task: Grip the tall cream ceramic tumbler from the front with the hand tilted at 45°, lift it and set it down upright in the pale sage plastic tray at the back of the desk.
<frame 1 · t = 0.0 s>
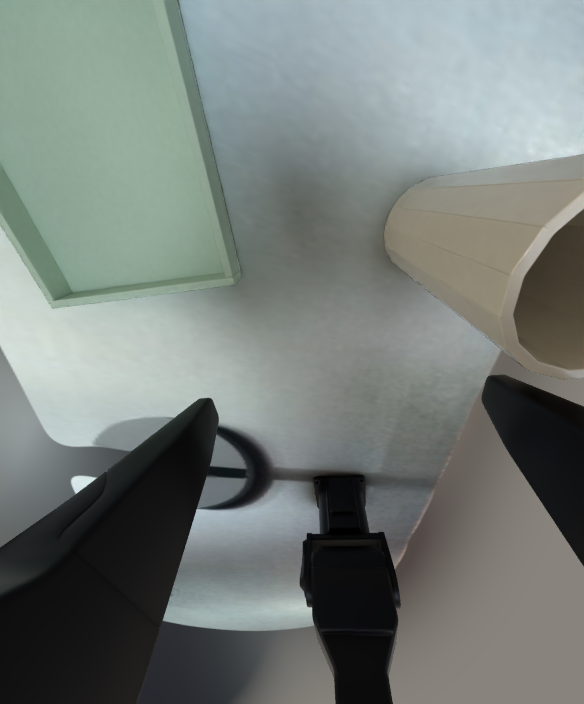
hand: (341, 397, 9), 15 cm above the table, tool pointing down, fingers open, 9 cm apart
tray: (106, 166, 18), on the table
tumbler: (429, 228, 19), on the table
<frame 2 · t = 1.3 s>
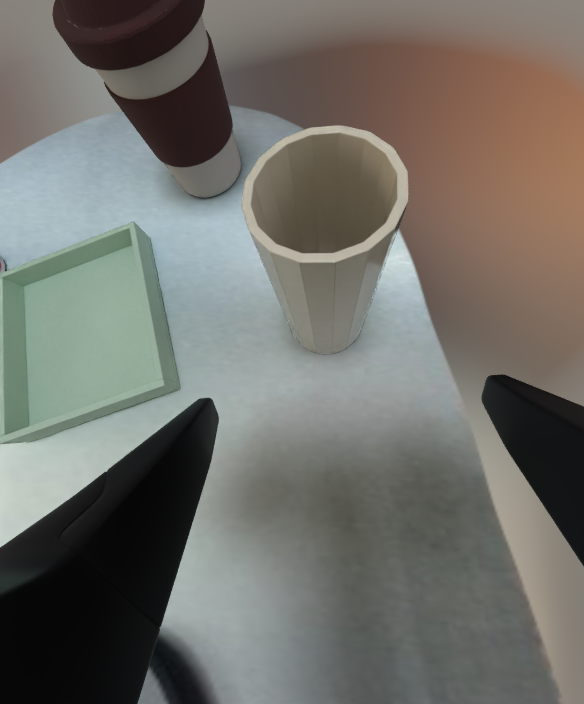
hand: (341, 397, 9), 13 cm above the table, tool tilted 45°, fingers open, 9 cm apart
coffee cup: (211, 174, 30), on the table
tray: (94, 332, 27), on the table
tumbler: (326, 319, 24), on the table
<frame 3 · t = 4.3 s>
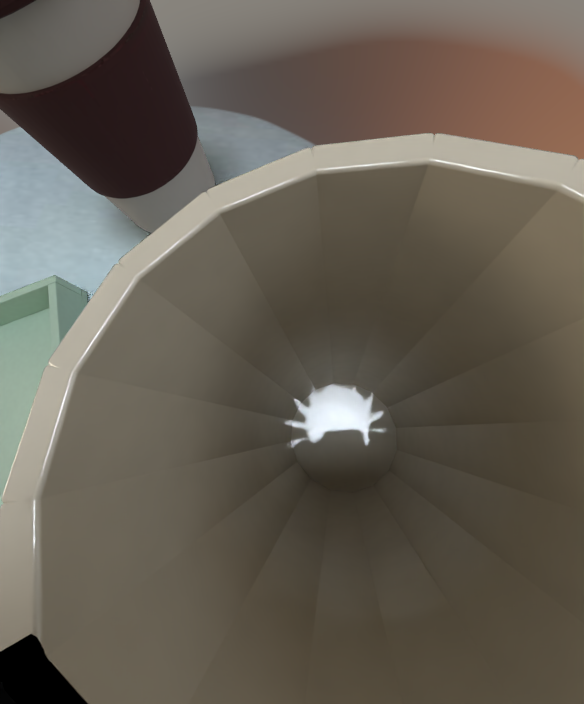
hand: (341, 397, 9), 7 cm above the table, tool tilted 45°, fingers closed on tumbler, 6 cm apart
coffee cup: (176, 201, 22), on the table
tumbler: (342, 434, 15), on the table, touching gripper
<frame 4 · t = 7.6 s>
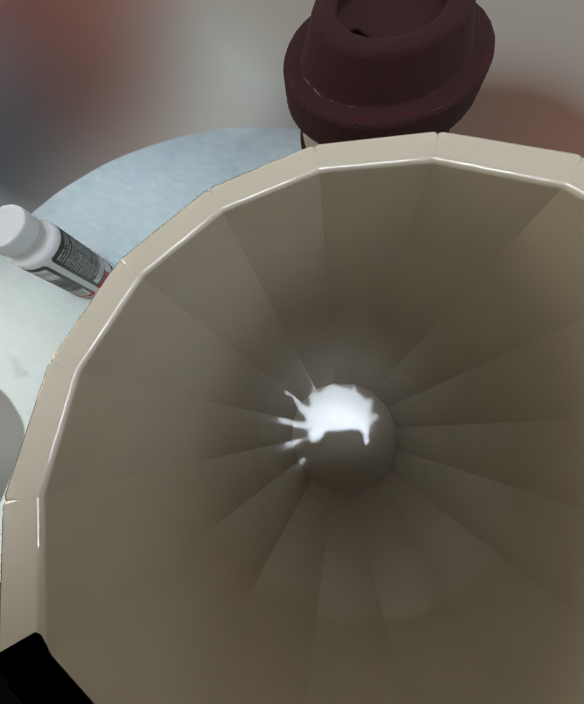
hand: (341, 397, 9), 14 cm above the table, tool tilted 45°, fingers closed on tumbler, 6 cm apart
coffee cup: (356, 234, 26), on the table
pill bottle: (94, 279, 29), on the table
tumbler: (342, 434, 15), point 7 cm above the table, touching gripper
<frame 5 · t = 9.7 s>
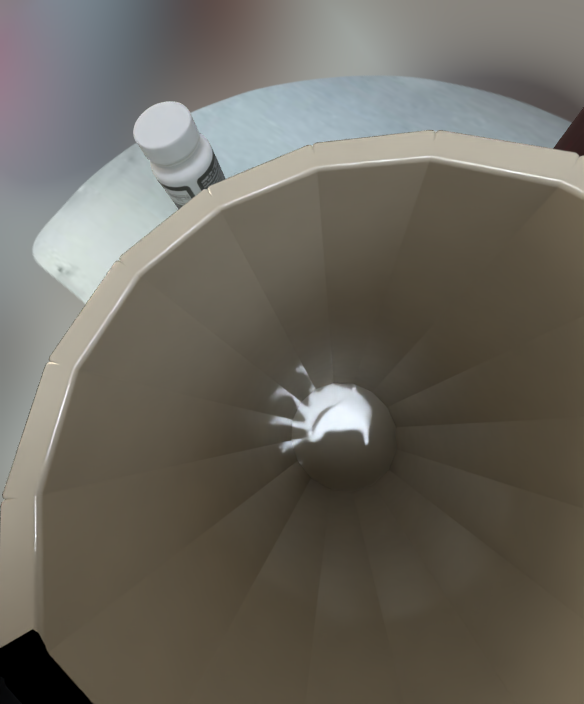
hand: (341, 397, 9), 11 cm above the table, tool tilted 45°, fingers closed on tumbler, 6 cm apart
coffee cup: (552, 237, 21), on the table
pill bottle: (215, 218, 25), on the table
tumbler: (342, 433, 15), point 4 cm above the table, touching gripper
when the fingers open (8 cm above the table, at t = 11.3 s): tumbler stays where it is, resting on tray.
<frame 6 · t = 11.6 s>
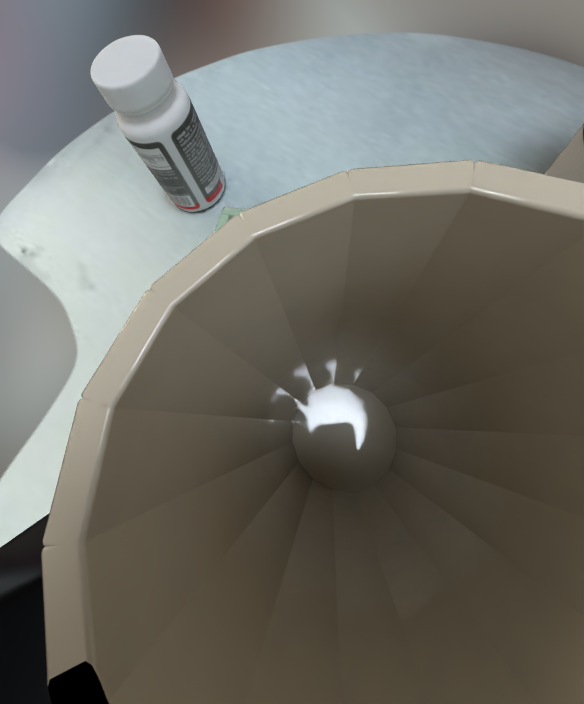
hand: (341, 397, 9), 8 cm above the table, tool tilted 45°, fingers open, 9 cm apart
pill bottle: (200, 191, 22), on the table
tumbler: (342, 434, 15), point 1 cm above the table, touching gripper, tray
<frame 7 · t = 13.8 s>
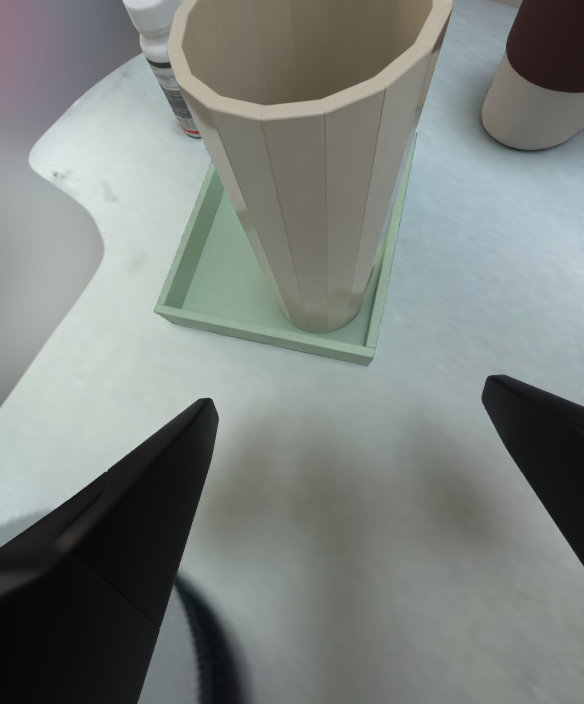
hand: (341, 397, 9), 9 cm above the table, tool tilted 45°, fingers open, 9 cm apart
coffee cup: (526, 120, 21), on the table
tray: (292, 242, 21), on the table
pill bottle: (205, 122, 26), on the table
tumbler: (320, 291, 19), resting on tray
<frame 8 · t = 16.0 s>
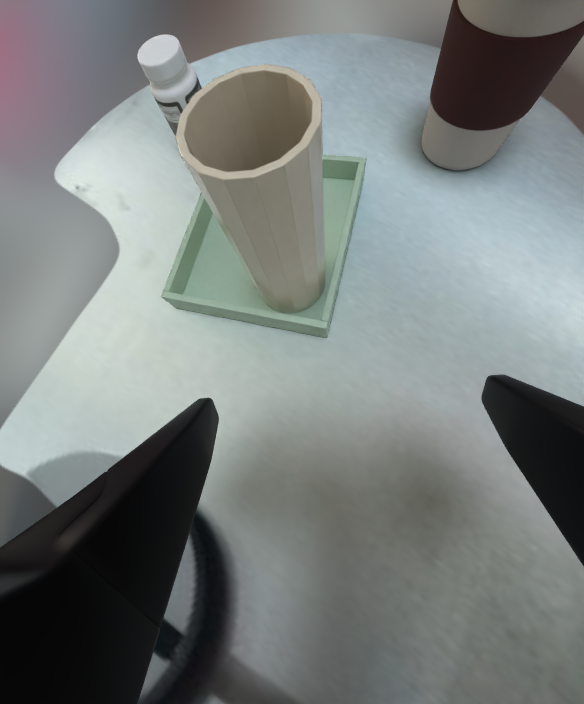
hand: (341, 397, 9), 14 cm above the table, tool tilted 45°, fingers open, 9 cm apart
coffee cup: (457, 145, 27), on the table
tray: (270, 243, 27), on the table
pill bottle: (202, 144, 32), on the table
tumbler: (291, 281, 25), resting on tray
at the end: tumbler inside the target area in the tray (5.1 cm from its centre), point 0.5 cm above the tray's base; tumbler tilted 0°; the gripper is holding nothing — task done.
